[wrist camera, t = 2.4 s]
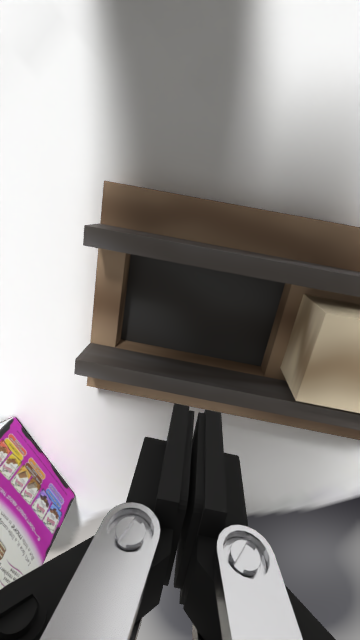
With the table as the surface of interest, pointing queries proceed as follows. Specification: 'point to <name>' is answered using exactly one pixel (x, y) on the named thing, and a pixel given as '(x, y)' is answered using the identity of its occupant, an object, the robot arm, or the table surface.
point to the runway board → (211, 302)
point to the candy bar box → (27, 503)
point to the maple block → (325, 354)
